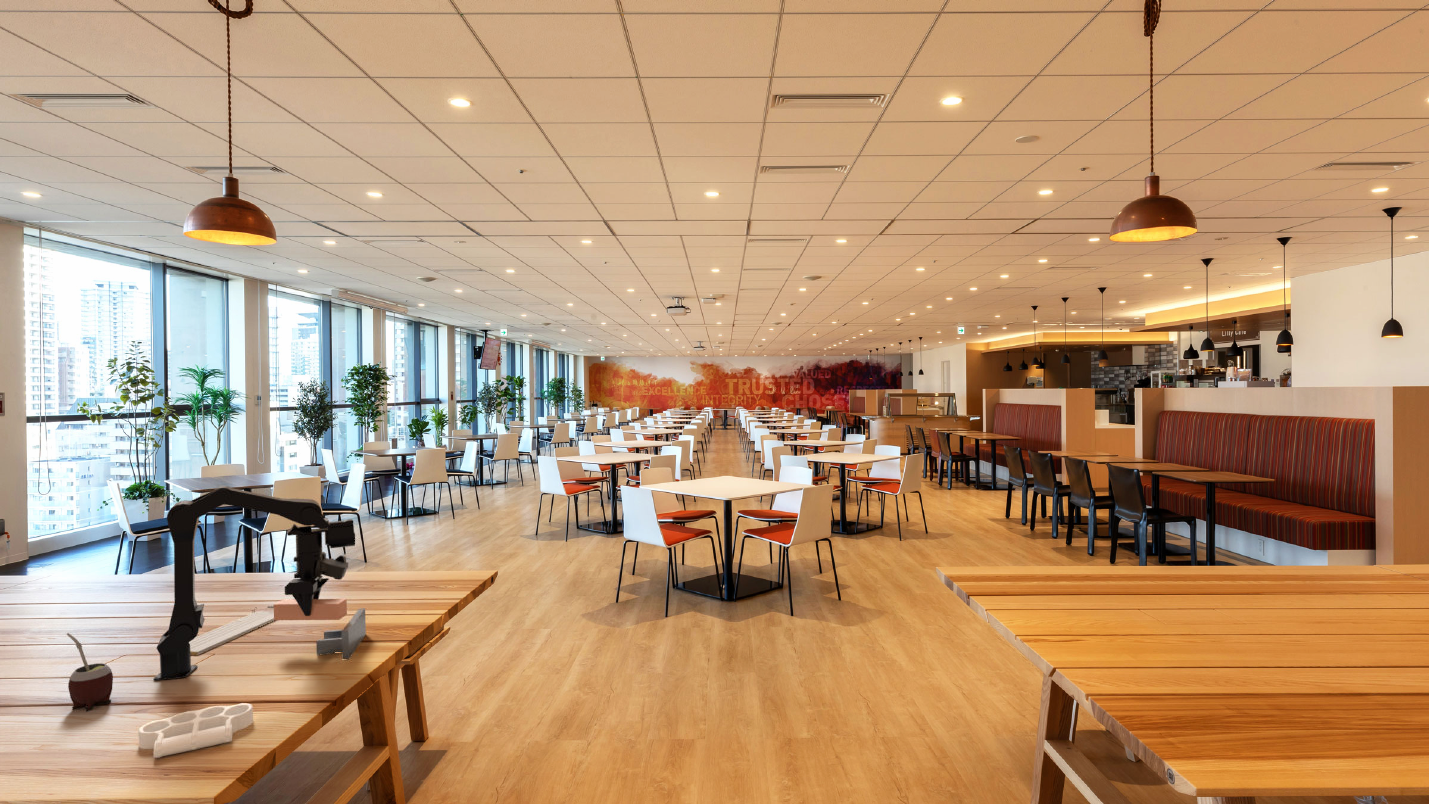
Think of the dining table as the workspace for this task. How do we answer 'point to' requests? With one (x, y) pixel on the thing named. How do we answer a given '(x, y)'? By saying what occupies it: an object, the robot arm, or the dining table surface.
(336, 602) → the rail
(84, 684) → the mate gourd
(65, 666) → the dining table surface
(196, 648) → the baseboard
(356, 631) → the bracket
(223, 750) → the dining table surface
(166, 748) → the knuckle duster
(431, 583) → the dining table surface
